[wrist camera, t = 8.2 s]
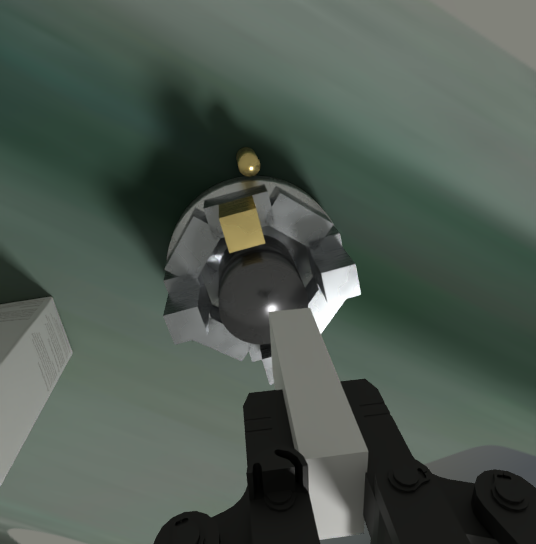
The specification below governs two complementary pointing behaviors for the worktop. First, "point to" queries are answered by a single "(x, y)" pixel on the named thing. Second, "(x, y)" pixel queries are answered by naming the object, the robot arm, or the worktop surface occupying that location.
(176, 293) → the ring nut
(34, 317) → the skincare box
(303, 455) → the robot arm
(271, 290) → the housing
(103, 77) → the worktop surface
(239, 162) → the post
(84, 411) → the worktop surface
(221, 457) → the worktop surface
